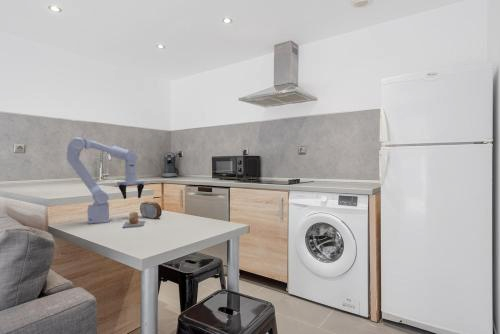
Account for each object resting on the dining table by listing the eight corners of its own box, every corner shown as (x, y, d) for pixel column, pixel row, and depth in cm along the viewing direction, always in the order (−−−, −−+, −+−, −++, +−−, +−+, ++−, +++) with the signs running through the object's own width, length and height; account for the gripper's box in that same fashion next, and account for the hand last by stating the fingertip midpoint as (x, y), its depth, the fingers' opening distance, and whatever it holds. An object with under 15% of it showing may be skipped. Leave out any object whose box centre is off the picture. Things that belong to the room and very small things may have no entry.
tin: (162, 218, 148) (161, 202, 148) (157, 219, 145) (157, 203, 145) (143, 215, 156) (143, 200, 156) (139, 217, 153) (138, 201, 153)
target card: (122, 228, 128) (122, 226, 128) (125, 223, 138) (125, 221, 138) (143, 226, 131) (143, 224, 131) (144, 221, 141) (144, 220, 140)
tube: (130, 224, 132) (130, 214, 131) (128, 223, 135) (128, 212, 135) (139, 223, 134) (139, 213, 134) (137, 221, 137) (137, 211, 137)
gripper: (114, 174, 147) (115, 200, 147) (142, 173, 148) (143, 198, 148) (119, 173, 154) (120, 198, 154) (146, 172, 155) (147, 197, 155)
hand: (132, 198), depth 152 cm, fingers open, 7 cm apart
